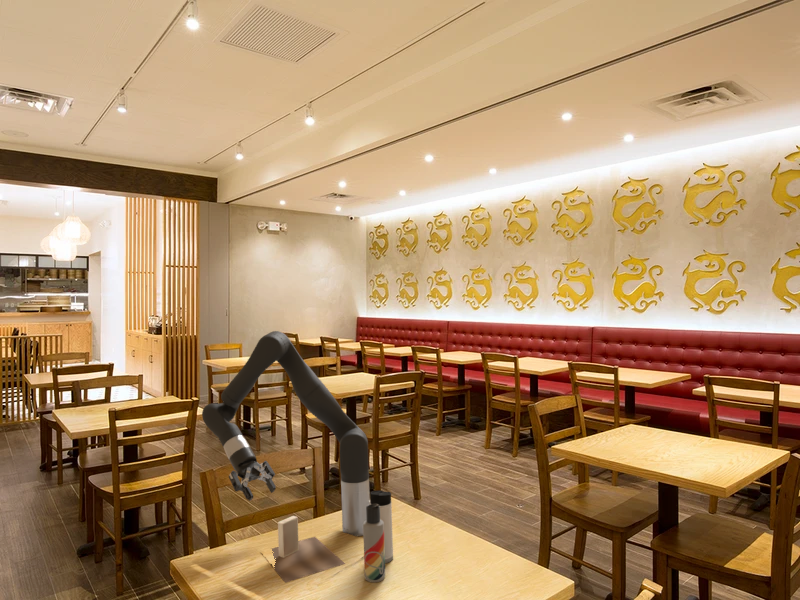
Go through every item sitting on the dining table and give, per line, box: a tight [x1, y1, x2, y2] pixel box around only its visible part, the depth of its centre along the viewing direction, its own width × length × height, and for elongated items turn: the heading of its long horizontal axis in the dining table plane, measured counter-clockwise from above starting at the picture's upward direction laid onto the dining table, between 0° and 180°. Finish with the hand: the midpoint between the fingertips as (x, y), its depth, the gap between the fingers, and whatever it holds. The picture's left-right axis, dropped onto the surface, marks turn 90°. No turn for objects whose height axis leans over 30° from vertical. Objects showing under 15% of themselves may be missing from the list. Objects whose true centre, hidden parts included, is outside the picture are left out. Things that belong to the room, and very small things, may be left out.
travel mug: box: [369, 490, 394, 564], centre depth 159 cm, size 6×7×20 cm
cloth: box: [271, 536, 346, 583], centre depth 159 cm, size 18×22×1 cm
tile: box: [277, 515, 299, 558], centre depth 162 cm, size 2×6×10 cm, turn 142°
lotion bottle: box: [362, 503, 386, 583], centre depth 148 cm, size 6×6×20 cm
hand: (262, 494), depth 169 cm, fingers open, 8 cm apart
